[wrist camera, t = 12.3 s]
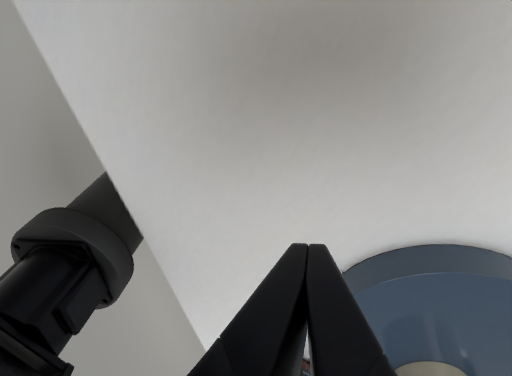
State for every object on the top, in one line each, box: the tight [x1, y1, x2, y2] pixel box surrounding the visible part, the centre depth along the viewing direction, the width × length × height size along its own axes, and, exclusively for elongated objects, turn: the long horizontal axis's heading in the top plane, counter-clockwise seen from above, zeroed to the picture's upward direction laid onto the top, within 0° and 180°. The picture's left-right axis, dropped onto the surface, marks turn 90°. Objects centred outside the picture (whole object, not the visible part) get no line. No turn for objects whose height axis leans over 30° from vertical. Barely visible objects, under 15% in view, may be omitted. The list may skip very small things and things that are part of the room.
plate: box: [342, 245, 512, 376], centre depth 25 cm, size 17×17×2 cm
